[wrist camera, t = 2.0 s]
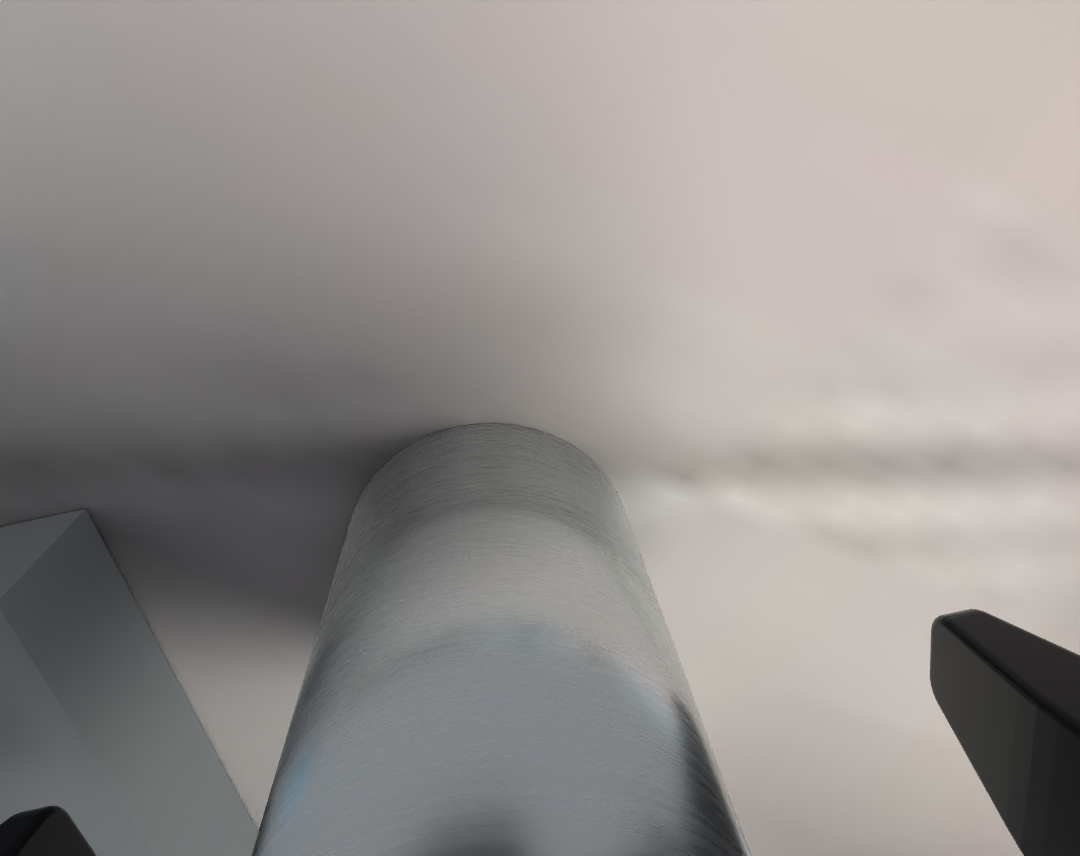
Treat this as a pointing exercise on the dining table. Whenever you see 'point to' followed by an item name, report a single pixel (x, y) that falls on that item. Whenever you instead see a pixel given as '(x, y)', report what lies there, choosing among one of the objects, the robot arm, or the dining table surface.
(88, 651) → the scale
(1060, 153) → the dining table surface
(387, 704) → the cylinder
